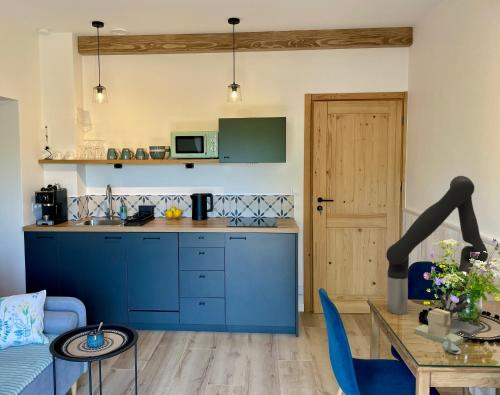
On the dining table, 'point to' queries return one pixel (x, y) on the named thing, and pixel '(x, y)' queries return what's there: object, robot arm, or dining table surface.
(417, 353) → the dining table surface
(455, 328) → the trap deck
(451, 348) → the pacifier
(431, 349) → the dining table surface
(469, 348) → the dining table surface
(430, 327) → the birch block
